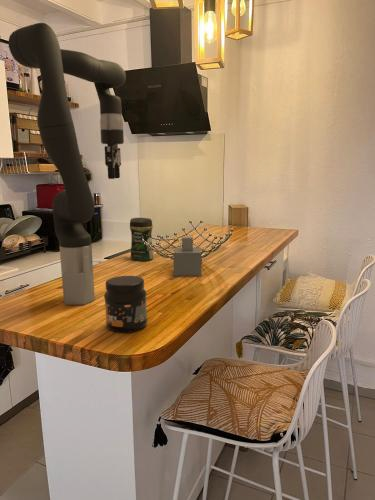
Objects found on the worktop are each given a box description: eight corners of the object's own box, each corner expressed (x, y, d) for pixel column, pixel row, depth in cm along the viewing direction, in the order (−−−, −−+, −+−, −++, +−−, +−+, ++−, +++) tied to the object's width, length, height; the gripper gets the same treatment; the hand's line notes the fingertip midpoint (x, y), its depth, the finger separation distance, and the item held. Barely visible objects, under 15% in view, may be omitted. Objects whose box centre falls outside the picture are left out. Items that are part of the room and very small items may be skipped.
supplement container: (97, 325, 101) (95, 280, 98) (131, 315, 108) (129, 272, 106) (121, 337, 93) (119, 289, 91) (156, 325, 101) (154, 280, 98)
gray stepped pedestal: (201, 276, 146) (201, 239, 143) (173, 276, 146) (173, 239, 144) (200, 269, 156) (200, 234, 153) (175, 269, 156) (174, 235, 154)
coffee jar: (128, 260, 173) (126, 218, 169) (138, 256, 180) (136, 216, 176) (146, 262, 169) (145, 219, 165) (156, 258, 176) (155, 217, 172)
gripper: (105, 131, 139) (107, 178, 142) (95, 127, 125) (98, 179, 128) (126, 131, 138) (128, 178, 142) (119, 126, 124) (121, 178, 128)
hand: (114, 178), depth 135 cm, fingers open, 8 cm apart
